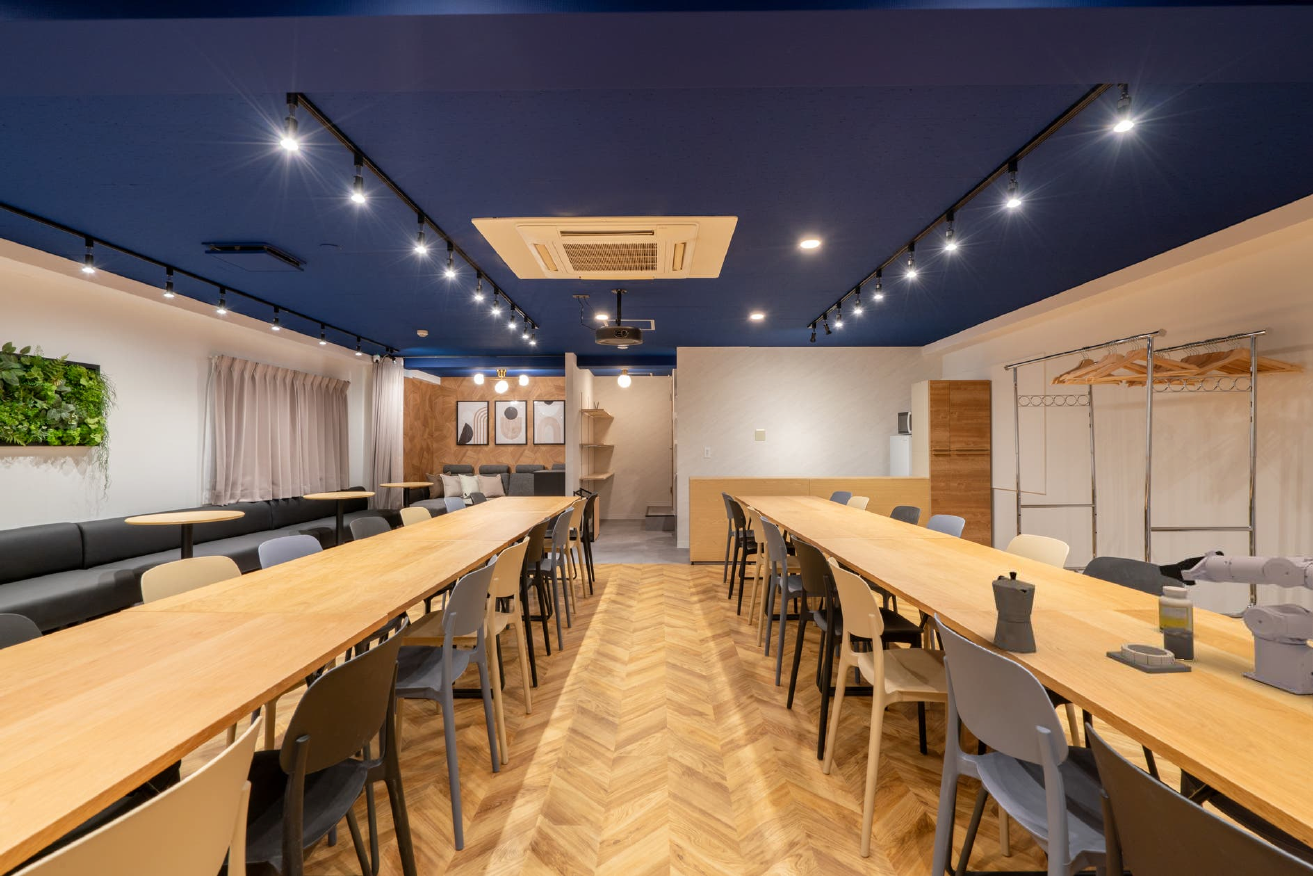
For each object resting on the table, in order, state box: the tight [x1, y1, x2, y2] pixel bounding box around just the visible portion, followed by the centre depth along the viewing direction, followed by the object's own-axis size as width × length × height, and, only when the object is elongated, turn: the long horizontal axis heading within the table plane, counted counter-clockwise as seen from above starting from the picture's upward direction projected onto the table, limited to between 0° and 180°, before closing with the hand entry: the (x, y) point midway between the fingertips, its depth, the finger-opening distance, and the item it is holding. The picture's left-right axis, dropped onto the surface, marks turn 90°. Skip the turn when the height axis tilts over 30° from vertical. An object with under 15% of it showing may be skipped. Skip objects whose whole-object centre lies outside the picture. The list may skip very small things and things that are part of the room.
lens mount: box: [1105, 642, 1192, 674], centre depth 124 cm, size 10×10×3 cm
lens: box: [1163, 627, 1195, 660], centre depth 128 cm, size 5×5×6 cm
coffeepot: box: [991, 571, 1037, 654], centre depth 136 cm, size 15×9×18 cm, turn 168°
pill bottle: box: [1158, 585, 1194, 633], centre depth 144 cm, size 6×6×12 cm
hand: (1174, 567), depth 134 cm, fingers open, 7 cm apart
